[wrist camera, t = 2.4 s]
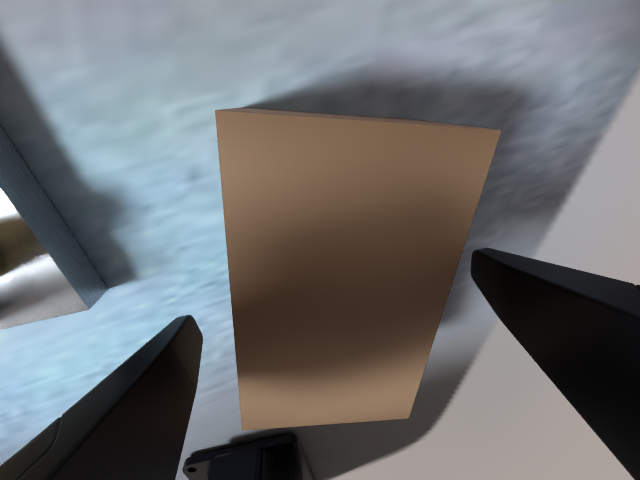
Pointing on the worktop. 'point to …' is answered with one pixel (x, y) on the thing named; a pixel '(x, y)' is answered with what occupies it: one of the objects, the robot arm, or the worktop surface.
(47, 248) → the chassis
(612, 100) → the worktop surface
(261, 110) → the tan block
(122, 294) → the worktop surface
